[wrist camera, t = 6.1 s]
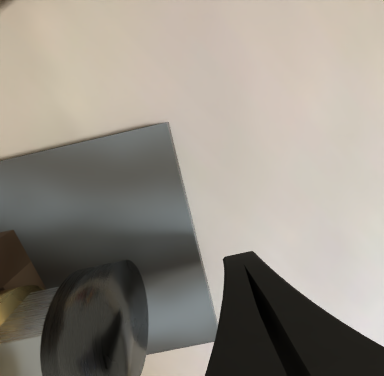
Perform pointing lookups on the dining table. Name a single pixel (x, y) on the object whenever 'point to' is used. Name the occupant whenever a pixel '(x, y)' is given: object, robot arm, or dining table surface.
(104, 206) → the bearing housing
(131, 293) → the shaft
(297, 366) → the robot arm
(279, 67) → the dining table surface
